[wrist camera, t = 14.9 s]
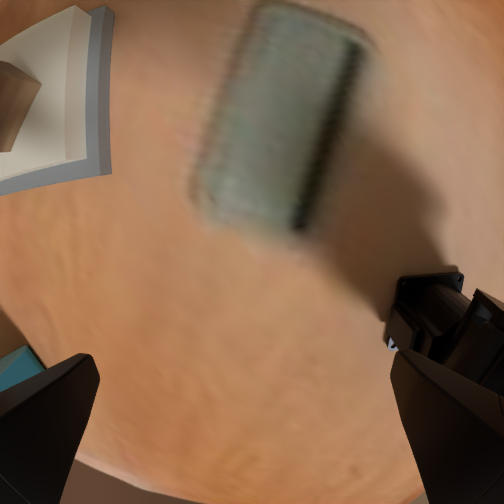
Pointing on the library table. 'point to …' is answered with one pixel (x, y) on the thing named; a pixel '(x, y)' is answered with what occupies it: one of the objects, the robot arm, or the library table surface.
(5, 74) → the walnut block
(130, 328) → the library table surface
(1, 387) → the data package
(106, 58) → the tower base slab
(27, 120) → the tower top slab
